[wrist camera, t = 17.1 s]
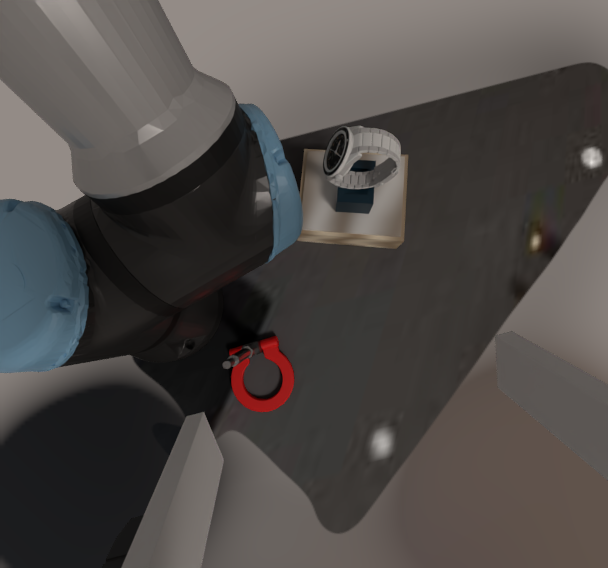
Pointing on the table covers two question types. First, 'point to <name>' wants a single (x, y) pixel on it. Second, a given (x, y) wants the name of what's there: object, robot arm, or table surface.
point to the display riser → (352, 226)
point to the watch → (359, 165)
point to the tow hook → (241, 361)
